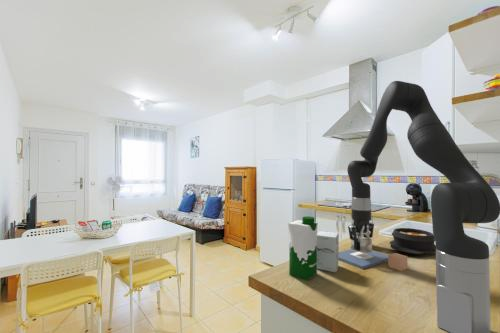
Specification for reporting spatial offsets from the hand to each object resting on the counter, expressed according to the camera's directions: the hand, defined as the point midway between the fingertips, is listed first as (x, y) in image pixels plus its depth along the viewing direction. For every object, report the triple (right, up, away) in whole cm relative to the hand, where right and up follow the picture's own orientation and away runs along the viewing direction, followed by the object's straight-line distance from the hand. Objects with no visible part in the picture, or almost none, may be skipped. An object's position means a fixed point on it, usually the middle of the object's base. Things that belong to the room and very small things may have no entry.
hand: (361, 249), depth 100 cm
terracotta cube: (+9, -4, -10) cm, 14 cm away
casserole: (+28, -4, +10) cm, 31 cm away
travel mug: (+8, -4, +18) cm, 20 cm away
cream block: (0, 0, 0) cm, 0 cm away
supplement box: (-18, -4, -10) cm, 20 cm away
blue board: (0, -4, 0) cm, 4 cm away
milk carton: (-28, -3, -16) cm, 32 cm away
